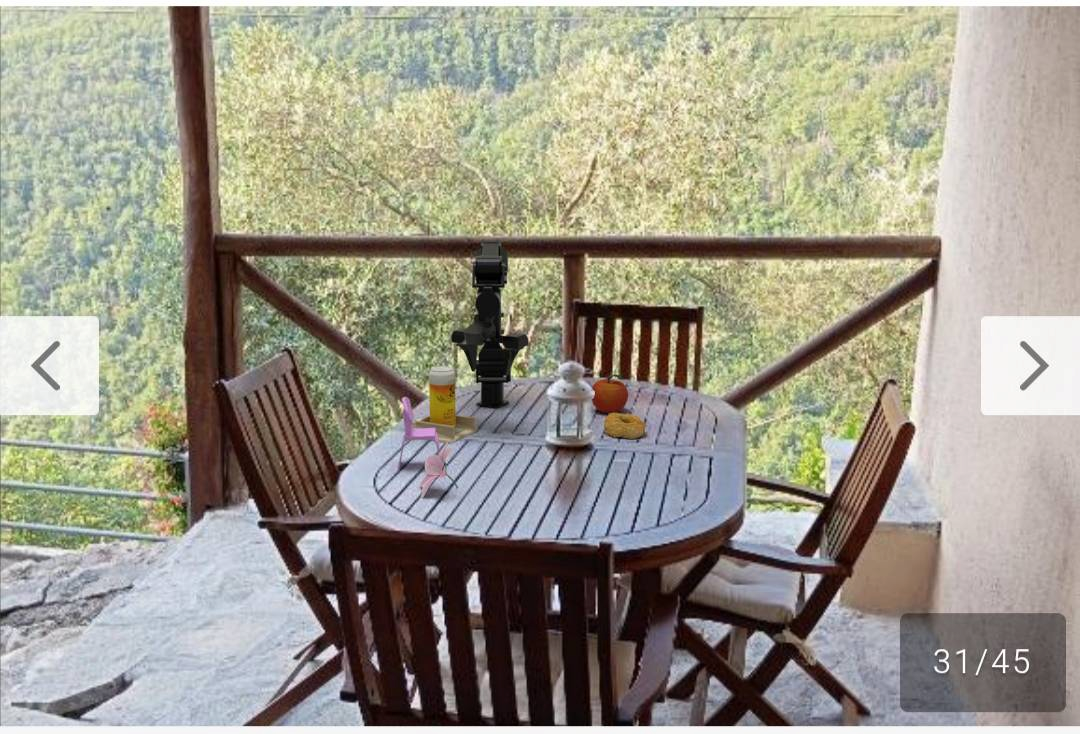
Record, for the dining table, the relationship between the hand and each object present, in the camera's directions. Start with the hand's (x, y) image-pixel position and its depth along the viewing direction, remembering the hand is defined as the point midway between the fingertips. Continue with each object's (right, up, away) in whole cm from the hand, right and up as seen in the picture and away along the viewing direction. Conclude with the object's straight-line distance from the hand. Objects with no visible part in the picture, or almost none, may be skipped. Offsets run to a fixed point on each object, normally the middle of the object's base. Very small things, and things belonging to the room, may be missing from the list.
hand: (489, 373), depth 260 cm
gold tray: (-11, -14, -5) cm, 19 cm away
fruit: (+30, -10, +16) cm, 35 cm away
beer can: (-11, -14, -5) cm, 18 cm away
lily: (-8, -23, -45) cm, 51 cm away
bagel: (+33, -15, -4) cm, 36 cm away
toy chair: (-14, -20, -29) cm, 38 cm away
